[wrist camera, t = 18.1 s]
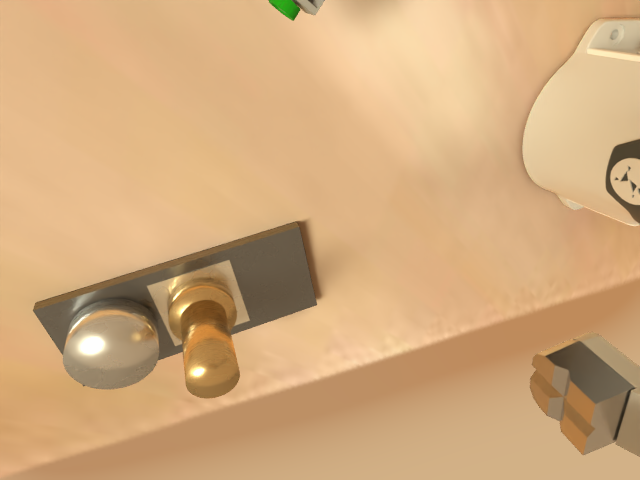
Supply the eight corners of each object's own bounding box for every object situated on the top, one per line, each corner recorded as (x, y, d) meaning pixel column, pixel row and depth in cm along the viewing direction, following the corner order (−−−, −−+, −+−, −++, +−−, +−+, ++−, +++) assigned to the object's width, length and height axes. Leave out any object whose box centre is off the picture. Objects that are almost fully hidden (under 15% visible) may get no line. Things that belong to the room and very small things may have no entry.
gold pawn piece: (223, 269, 40) (241, 337, 32) (240, 317, 43) (259, 390, 35) (158, 289, 39) (160, 365, 31) (180, 337, 42) (186, 417, 34)
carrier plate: (296, 221, 41) (309, 243, 38) (313, 298, 46) (326, 324, 43) (35, 303, 37) (24, 335, 34) (84, 378, 42) (79, 412, 39)
